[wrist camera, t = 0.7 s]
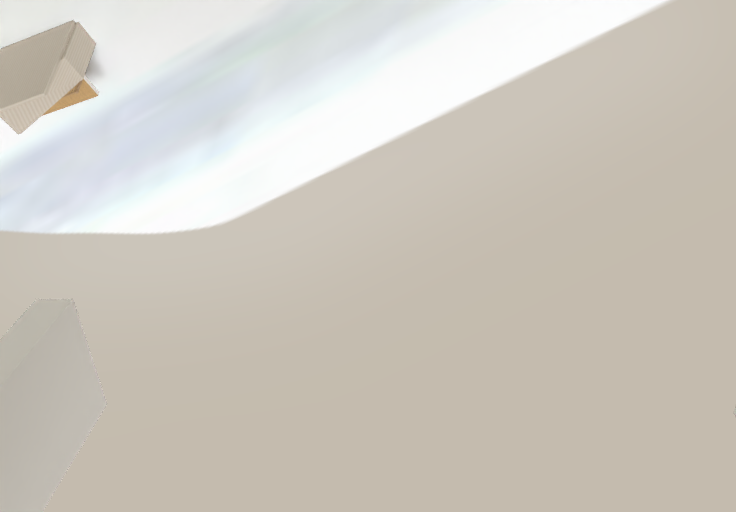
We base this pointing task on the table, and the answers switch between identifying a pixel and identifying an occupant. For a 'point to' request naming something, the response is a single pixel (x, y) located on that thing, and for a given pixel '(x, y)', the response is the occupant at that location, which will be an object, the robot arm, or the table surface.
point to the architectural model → (45, 74)
